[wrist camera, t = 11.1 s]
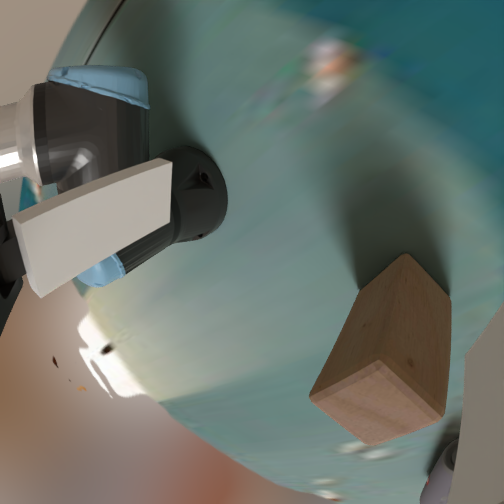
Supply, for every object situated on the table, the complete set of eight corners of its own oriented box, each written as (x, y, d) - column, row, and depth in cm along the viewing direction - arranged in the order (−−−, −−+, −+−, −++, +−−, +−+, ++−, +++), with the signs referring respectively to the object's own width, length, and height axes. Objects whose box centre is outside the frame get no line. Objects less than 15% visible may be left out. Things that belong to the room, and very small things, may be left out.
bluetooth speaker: (444, 430, 45) (435, 474, 37) (487, 432, 40) (482, 476, 33) (422, 479, 54) (412, 513, 46) (457, 481, 49) (448, 516, 41)
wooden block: (406, 247, 37) (378, 357, 22) (454, 298, 36) (447, 422, 21) (356, 291, 43) (301, 399, 28) (402, 335, 42) (368, 450, 27)
